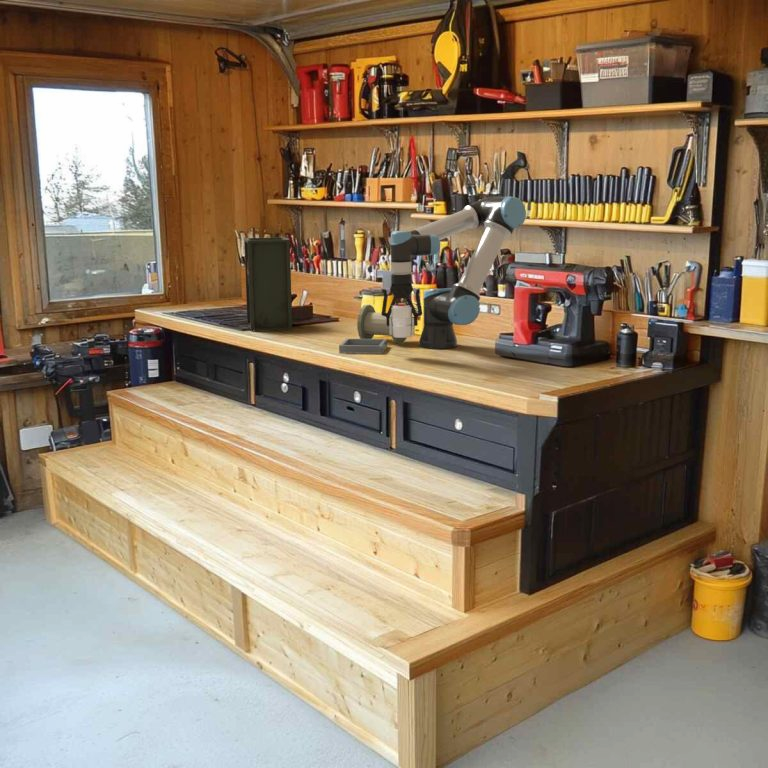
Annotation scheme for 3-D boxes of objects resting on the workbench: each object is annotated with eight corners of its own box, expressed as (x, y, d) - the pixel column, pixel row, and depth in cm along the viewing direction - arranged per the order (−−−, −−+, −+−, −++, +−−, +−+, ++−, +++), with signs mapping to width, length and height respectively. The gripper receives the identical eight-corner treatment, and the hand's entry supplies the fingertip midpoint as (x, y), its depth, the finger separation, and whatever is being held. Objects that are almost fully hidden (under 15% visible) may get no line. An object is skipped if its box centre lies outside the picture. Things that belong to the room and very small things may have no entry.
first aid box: (292, 329, 409) (289, 239, 400) (250, 331, 404) (247, 240, 396) (287, 323, 426) (284, 237, 418) (247, 325, 422) (244, 238, 413)
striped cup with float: (392, 338, 335) (391, 306, 332) (386, 335, 343) (385, 303, 340) (418, 337, 338) (417, 304, 335) (411, 333, 345) (411, 302, 343)
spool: (409, 340, 378) (409, 304, 375) (394, 346, 365) (394, 309, 362) (373, 338, 385) (373, 302, 382) (357, 343, 372) (357, 307, 369)
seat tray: (386, 346, 364) (386, 339, 364) (381, 353, 348) (381, 346, 348) (346, 345, 366) (346, 338, 366) (339, 353, 350) (339, 345, 350)
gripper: (429, 272, 337) (430, 332, 342) (375, 272, 340) (376, 332, 345) (428, 274, 330) (428, 336, 335) (372, 274, 333) (373, 336, 338)
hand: (402, 334), depth 340 cm, fingers closed on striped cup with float, 8 cm apart
